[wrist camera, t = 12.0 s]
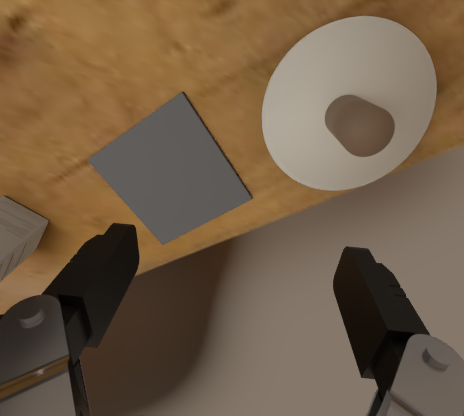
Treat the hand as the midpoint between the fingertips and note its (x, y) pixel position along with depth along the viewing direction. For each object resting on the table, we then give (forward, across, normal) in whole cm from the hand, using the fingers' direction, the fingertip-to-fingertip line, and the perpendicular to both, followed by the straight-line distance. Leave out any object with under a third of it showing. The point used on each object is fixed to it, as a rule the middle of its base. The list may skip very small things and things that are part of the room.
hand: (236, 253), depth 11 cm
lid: (+19, -9, -2) cm, 21 cm away
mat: (+26, +10, +10) cm, 29 cm away
